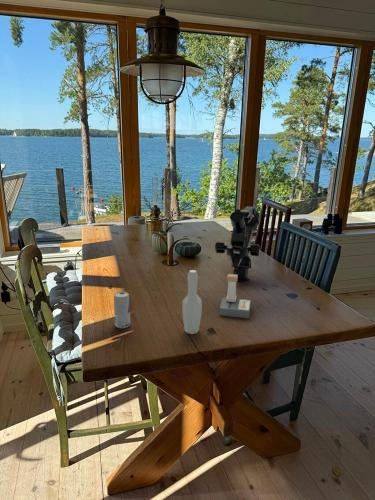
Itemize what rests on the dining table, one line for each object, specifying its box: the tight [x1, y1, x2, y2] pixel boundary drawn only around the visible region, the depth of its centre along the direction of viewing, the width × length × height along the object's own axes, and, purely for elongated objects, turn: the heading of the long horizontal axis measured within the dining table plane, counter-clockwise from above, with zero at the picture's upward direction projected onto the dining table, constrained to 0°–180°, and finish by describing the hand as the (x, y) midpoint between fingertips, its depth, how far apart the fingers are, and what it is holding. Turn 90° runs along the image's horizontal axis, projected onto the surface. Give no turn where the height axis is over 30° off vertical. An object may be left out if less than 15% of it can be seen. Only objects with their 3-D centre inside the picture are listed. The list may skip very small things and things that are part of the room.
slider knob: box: [225, 273, 238, 302], centre depth 141 cm, size 4×4×10 cm
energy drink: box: [113, 290, 131, 329], centre depth 126 cm, size 5×5×12 cm
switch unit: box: [218, 297, 252, 319], centre depth 140 cm, size 10×11×3 cm
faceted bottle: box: [181, 269, 203, 335], centre depth 122 cm, size 6×6×22 cm
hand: (235, 266), depth 150 cm, fingers closed
